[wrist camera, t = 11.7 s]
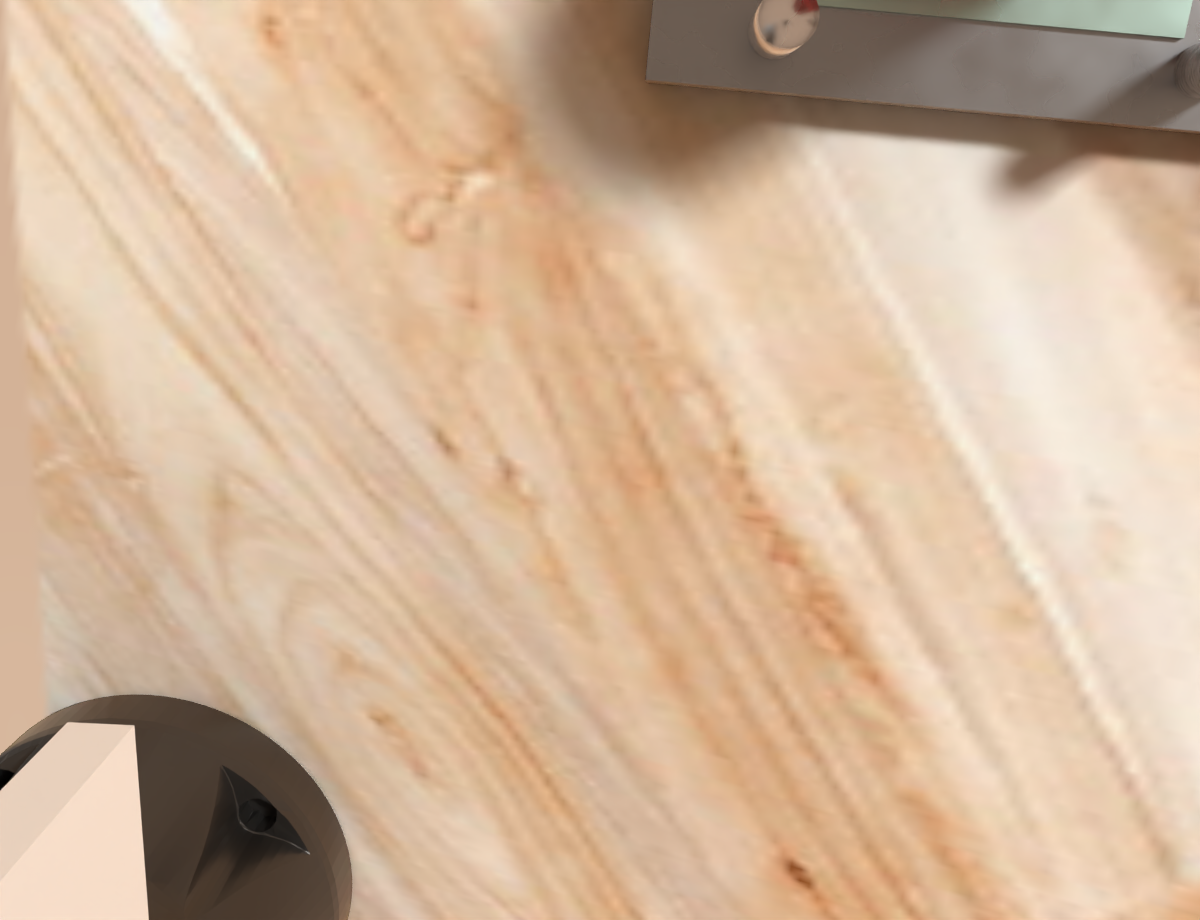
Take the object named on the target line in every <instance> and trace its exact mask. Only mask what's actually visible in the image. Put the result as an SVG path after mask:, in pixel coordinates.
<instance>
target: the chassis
mask: <svg viewBox="0 0 1200 920" xmlns="http://www.w3.org/2000/svg"><path fill="white" fill-rule="evenodd" d="M645 80H646V82H647V83H658V84H669V85H679V86H690V87H701V88H711V89H722V90H733V91H744V92H754V93H765V94H776V95H787V96H797V97H808V98H819V99H830V100H840V101H851V102H862V103H872V104H883V105H894V106H905V107H915V108H926V109H937V110H948V111H958V112H969V113H980V114H991V115H1001V116H1012V117H1023V118H1034V119H1044V120H1055V121H1066V122H1076V123H1087V124H1098V125H1109V126H1119V127H1130V128H1141V129H1152V130H1162V131H1173V132H1184V133H1195V134H1200V0H653V7H652V17H651V28H650V38H649V48H648V58H647V69H646V79H645Z"/></svg>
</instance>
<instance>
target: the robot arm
mask: <svg viewBox="0 0 1200 920" xmlns="http://www.w3.org/2000/svg"><path fill="white" fill-rule="evenodd" d="M351 897H352V872H351V863H350V857H349V852H348V848H347V844H346V841H345V837H344V835H343V832H342V829H341V826H340V824H339V822H338V820H337V817H336V815H335V813H334V811H333V809H332V807H331V806H330V804H329V802H328V800H327V799H326V797H325V796H324V794H323V793H322V791H321V790H320V788H319V787H318V786H317V784H316V783H315V781H314V780H313V779H312V778H311V777H310V775H309V774H308V773H307V772H306V771H305V770H304V768H303V767H302V766H301V765H300V764H299V763H298V762H297V761H296V760H295V759H294V758H293V757H292V756H291V755H289V754H288V753H287V752H286V751H285V750H284V749H283V748H281V747H280V746H279V745H278V744H276V743H275V742H274V741H272V740H271V739H270V738H268V737H267V736H265V735H264V734H262V733H261V732H259V731H258V730H256V729H255V728H253V727H251V726H249V725H248V724H246V723H244V722H242V721H240V720H238V719H236V718H234V717H232V716H230V715H228V714H225V713H223V712H221V711H218V710H216V709H213V708H210V707H207V706H204V705H201V704H197V703H194V702H190V701H186V700H181V699H177V698H171V697H164V696H154V695H119V696H110V697H103V698H98V699H93V700H89V701H85V702H82V703H79V704H75V705H73V706H70V707H67V708H65V709H62V710H60V711H58V712H56V713H54V714H52V715H50V716H48V717H47V718H45V719H43V720H41V721H40V722H39V723H37V724H36V725H34V726H33V727H31V728H30V729H29V730H27V731H26V732H25V733H24V734H23V735H22V736H21V737H19V738H18V739H17V740H16V741H15V742H14V743H13V744H12V745H11V746H9V747H8V748H7V749H6V750H5V751H4V752H3V753H2V754H1V755H0V920H348V916H349V911H350V905H351Z"/></svg>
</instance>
